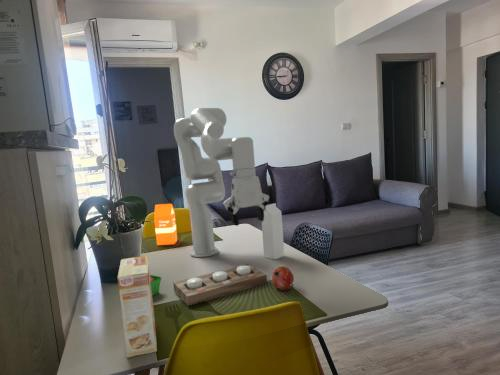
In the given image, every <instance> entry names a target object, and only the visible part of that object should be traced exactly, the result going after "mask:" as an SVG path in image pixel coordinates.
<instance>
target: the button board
mask: <svg viewBox="0 0 500 375" xmlns="http://www.w3.org/2000/svg"><path fill="white" fill-rule="evenodd" d="M239 266H250V270H251V274H248V275H244V276H241V277H240V276H238V275H237V267H239ZM221 271H223V272H226V273H227V280H226V281H222V282H218V283H214V282H213V273H215V272H221ZM192 278H201V279H202V287H200V288H196V289H193V290H188V288H187V280H189V279H192ZM264 284H268V276H267V273H265V272H263V271H262V270H259V269H257V268H256V267H254V266H252V265H250V264H248V263H244V264H239V265H236V266H233V267H228V268H225V269H221V270H217V271H213V272H209V273H205V274H201V275H197V276H193V277H189V278H185V279H181V280H178V281H177V280H176V281H173V290H174V291H173V292H174V293H175V294H177V295H178V297H179V298H180V299H181V301H183V302H184V304H186V306H188V307H189V305H190V306H192V304H193V305H195V303H196V304H199V303H198V302H200V303H203V302H206V301H205V300H207V301H210V300H213V299H212V298H214V299H216V297H217V298H219V297H220V298H221V297H224V296H227V295H231V294H233V293H238V292H241V291H244V290H247V289H251V288H254V287H258V286H261V285H264ZM230 293H231V294H230ZM223 295H224V296H223ZM209 299H210V300H209ZM202 301H203V302H202Z"/></svg>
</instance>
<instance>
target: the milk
mask: <svg viewBox="0 0 500 375" xmlns="http://www.w3.org/2000/svg"><path fill="white" fill-rule="evenodd" d="M282 214H283V213H282V211H281V209H279V208H278V207H277V203H276V202H275V203H270V204H267V205H266V206H265V209H264V221H261V231H262V244H263V257H264V258H266V259H270V260H274V261H275V260H277V259H281V258H282V257H284V256H285V246H284V233H283V232H284V230H283V229H284V228H283V217H282V216H283V215H282Z"/></svg>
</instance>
